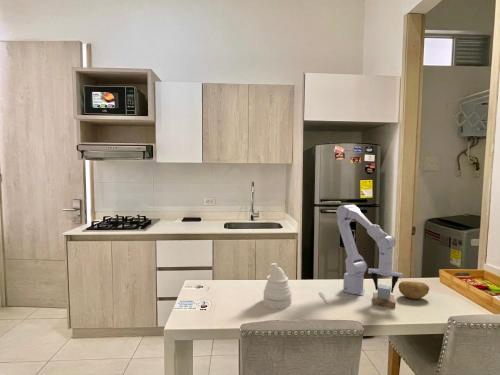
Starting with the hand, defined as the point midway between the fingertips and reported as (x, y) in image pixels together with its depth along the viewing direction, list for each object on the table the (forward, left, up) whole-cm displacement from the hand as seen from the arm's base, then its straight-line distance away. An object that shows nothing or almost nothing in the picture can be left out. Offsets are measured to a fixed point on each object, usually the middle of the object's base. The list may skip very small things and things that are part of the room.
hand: (384, 290), depth 152 cm
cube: (0, 0, -3) cm, 3 cm away
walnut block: (0, 0, -6) cm, 6 cm away
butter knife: (-22, -15, -6) cm, 28 cm away
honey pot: (-43, -25, -6) cm, 50 cm away
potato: (+12, +13, -6) cm, 19 cm away
